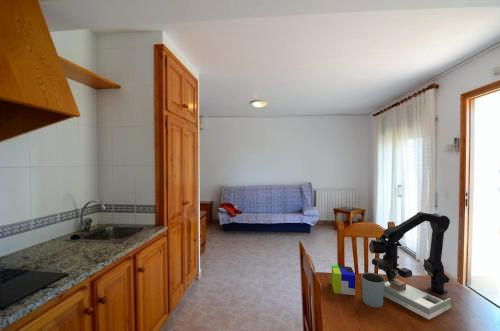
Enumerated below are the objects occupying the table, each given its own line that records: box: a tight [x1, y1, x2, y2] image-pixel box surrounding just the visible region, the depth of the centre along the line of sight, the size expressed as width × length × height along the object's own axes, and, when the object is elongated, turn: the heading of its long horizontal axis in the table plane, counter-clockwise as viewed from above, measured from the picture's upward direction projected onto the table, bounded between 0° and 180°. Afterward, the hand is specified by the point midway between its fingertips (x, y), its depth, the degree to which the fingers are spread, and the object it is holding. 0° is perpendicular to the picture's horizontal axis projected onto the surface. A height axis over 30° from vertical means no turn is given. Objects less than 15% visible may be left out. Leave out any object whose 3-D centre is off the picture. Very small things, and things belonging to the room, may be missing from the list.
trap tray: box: [383, 278, 452, 320], centre depth 118 cm, size 18×26×4 cm
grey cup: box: [360, 272, 386, 308], centre depth 115 cm, size 10×10×12 cm
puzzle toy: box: [331, 264, 356, 296], centre depth 127 cm, size 10×10×10 cm
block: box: [390, 278, 407, 292], centre depth 124 cm, size 5×5×3 cm
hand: (390, 283), depth 128 cm, fingers closed
